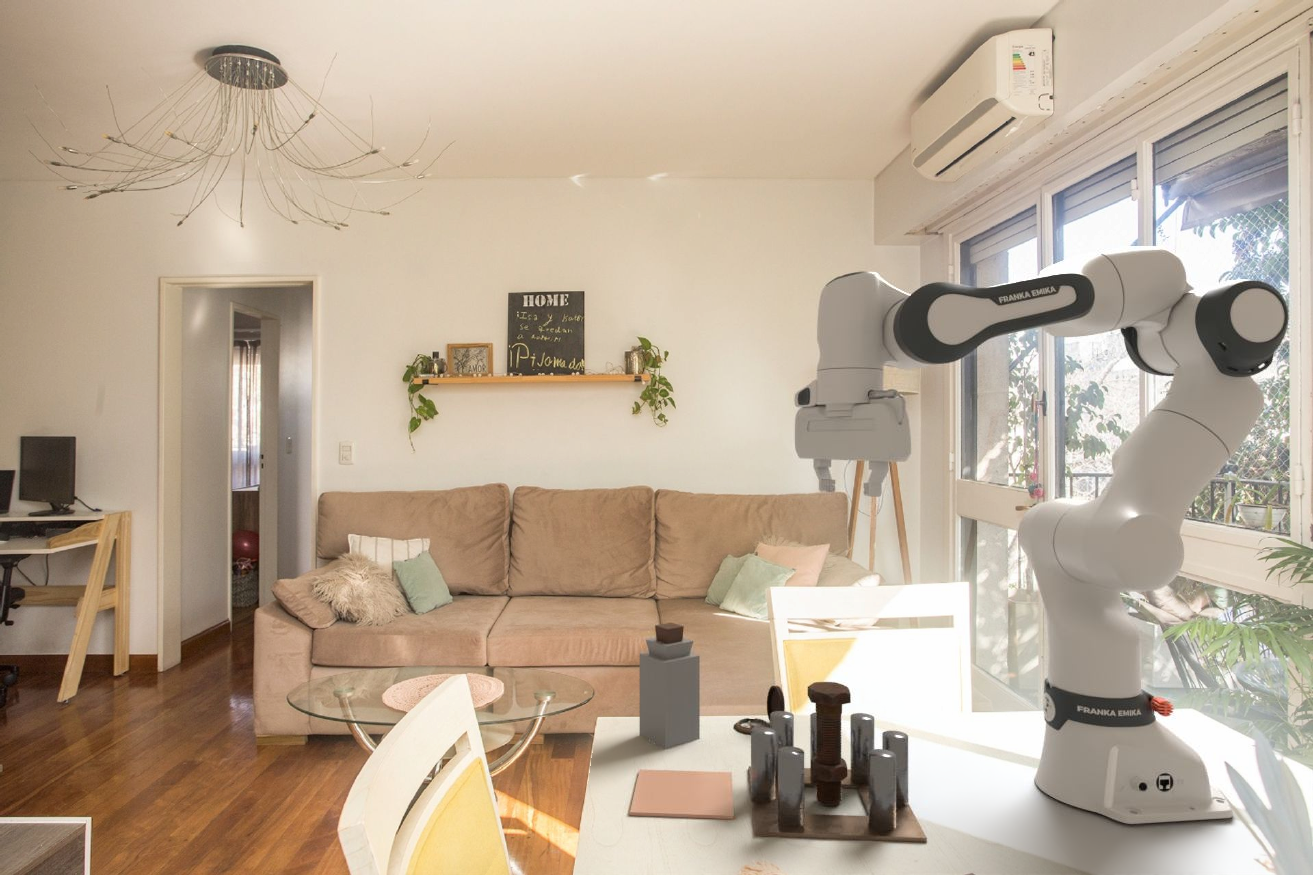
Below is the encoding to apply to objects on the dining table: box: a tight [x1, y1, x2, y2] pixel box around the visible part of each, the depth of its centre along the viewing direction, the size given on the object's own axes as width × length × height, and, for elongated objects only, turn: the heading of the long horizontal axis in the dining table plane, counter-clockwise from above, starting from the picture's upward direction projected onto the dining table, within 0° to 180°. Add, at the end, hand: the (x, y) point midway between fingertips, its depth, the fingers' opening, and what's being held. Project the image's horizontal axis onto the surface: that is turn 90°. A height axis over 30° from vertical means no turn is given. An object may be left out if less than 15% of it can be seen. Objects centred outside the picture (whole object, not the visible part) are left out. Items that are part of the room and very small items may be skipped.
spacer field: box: [748, 710, 928, 843], centre depth 103 cm, size 20×19×9 cm
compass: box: [733, 684, 785, 736], centre depth 127 cm, size 8×8×7 cm
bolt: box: [807, 681, 852, 807], centre depth 103 cm, size 6×5×15 cm
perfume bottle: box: [639, 622, 701, 750], centre depth 124 cm, size 7×7×18 cm
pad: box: [629, 769, 734, 820], centre depth 105 cm, size 13×13×1 cm
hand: (848, 494), depth 107 cm, fingers open, 8 cm apart
